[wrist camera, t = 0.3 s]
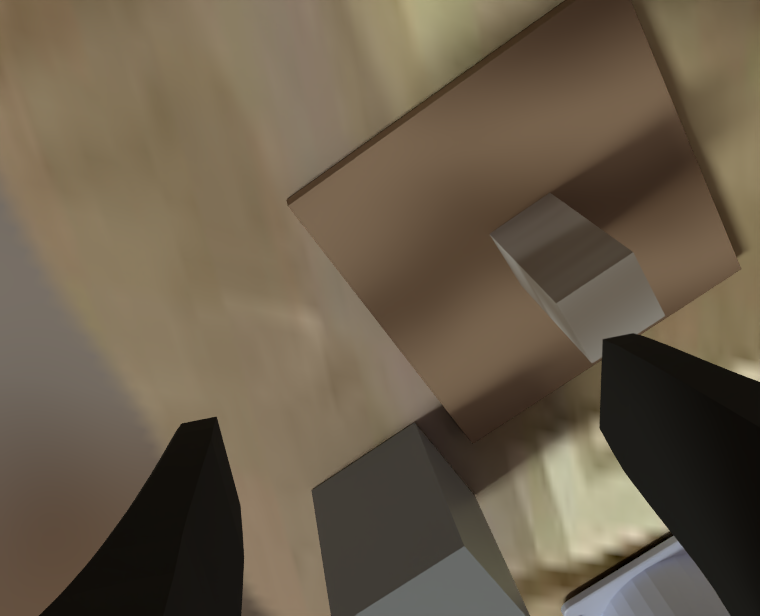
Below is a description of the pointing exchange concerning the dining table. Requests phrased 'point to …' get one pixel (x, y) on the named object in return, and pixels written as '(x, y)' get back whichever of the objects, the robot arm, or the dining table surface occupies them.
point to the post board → (499, 167)
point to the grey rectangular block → (409, 538)
